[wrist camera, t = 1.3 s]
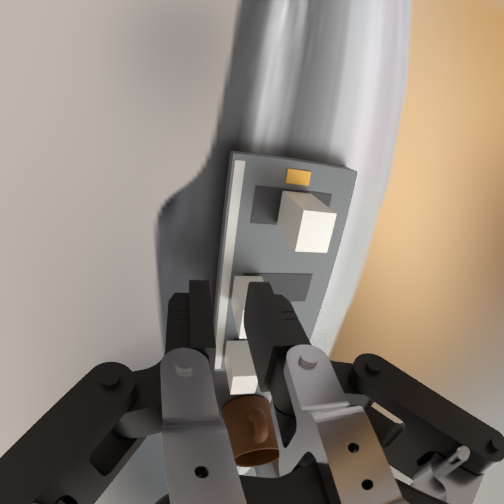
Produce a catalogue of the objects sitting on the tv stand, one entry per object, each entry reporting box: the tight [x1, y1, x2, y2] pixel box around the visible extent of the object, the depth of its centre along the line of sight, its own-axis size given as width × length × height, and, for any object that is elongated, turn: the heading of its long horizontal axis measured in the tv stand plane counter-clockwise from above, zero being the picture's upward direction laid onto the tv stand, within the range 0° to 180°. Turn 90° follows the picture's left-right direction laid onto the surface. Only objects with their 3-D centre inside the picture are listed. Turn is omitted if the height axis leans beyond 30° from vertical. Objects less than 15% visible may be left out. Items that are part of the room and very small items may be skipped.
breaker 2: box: [224, 341, 258, 395], centre depth 28 cm, size 3×2×5 cm
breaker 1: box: [231, 276, 264, 339], centre depth 24 cm, size 3×2×5 cm
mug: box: [222, 395, 279, 467], centre depth 35 cm, size 12×8×9 cm, turn 175°
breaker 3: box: [277, 191, 337, 253], centre depth 22 cm, size 3×2×5 cm
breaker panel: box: [213, 150, 357, 371], centre depth 28 cm, size 24×11×2 cm, turn 172°
